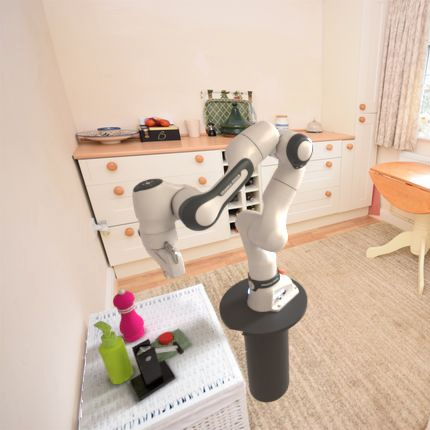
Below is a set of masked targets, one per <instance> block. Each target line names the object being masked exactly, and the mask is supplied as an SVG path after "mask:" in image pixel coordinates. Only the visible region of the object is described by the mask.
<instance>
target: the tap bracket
mask: <svg viewBox="0 0 430 430" xmlns="http://www.w3.org/2000/svg"><path fill="white" fill-rule="evenodd" d="M151 343H152V342H151V340H150V338H147V339H145V340H143V341H141V342H140V343H137V344H135V345H134V346H132V347H131V349H132V354H133V355H134V359H135V362H136V365H137V368H138V371H139V374H138V375H136V376H135V377H133V378H130V379H129V384H130V385H131V388H132V389H133V392H134V393H135V395H136V397H137V399H138V401H139V402H142V401H143V400H144V399H146V398H148V397H149V396H151V395H152V394H154V393H156V392H158V390H160V389H161V388H163V387H165V386H166V385H168V384H169V383H171V382H173V381H174V380H176V375H175V373H174V372H173V370H172V369H171V368H170V366H169V364H168V363H167V361H166V360H163V361H162V362H160V363H159V361H158V358H157V354H156V351H155V348H154V347H151ZM145 346H150V347H151V348H150V349H148V350H147V351H145V352H143V353H141V354H139V355H137V353H138V350H139V348H140V347H145Z"/></svg>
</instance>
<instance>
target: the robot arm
mask: <svg viewBox="0 0 430 430" xmlns="http://www.w3.org/2000/svg"><path fill="white" fill-rule="evenodd" d="M313 153H314V144H313V141H312V139H311V138H310V137H308V136H307V135H305V134H304V133H300V132H297V131H294V130H291V129H284V128H278V127H275V125H274V124H272V123H271V122H269V121H268V120H260V121H257V122H256V123H253V124H252V125H249V126H248V127H246V128H245V129H243V130H242V131H241V132H240V133H238V134H237V135H236V136H235V137H233V138H232V139H231V140H230V141H229V143H227V145H226V147H225V149H224V158H225V161H226V164H227V166H228V167H227V170H226V171H225V173H224V174H223V175H222V176H221V177H220V178H219V179H218V180H217V181H216V182H215V183H214V184H213V186H211V187H210V188H209V189H208V190H206V191H203V192H202V191H201V190H199V189H197V188H195V187H194V186H192V185H189V184H177V183H172V182H169V181H166V180H163V179H162V178H149V179H146V180H143V181H141V182H138V183H137V184H136V185H135V186H134V187H133V189H132V192H131V193H132V197H131V198H132V205H133V210H134V214H135V215H134V216H135V218H136V219H137V221H138V225H139V226H138V229H137V234H138V236H139V237H140V240H141V242H142V243H141V244H142V246H143V248H145V251H146V253H147V254H148V255H149V256H150V257H151V259H153V261H155V262H156V263H157V264H158V266H159V267H160V269H161V271H162V274H163V276H164V277H165V278H166V279H167V280H171V279H172V280H176V279H179V278H181V277H183V276H185V275H186V267H185V262H184V259H183V256H182V254H181V252H180V250H179V249H177V247H175V246H174V245H175V244H176V243H177V242H178V238H179V237H178V232H177V226H176V222H177V221H180V222H181V223H182V224H183V225H184V226H185V227H186V228H187V229H189V230H191V231H194V232H203V231H207V230H208V229H210V228H212V227H213V226H214V225H215V224H216V223H217V222H218V220H219V219H220V217H221V215H222V213H223V211H224V209H225V208H226V207H227V206H228V205H229V203H230V202H231V201H232V200H233V199H234V198H235V196H237V195H238V193H239V192H240V191H241V190H242V189H243V188H244V186H245V185H246V184H247V183H248V182H249V181H250V179H251V178H252V176H253V174H254V172H255V169H256V168H258V166H259V165H260V164H261V163H262V162H263V161H264V160H266V158H267V157H272V158H274V159H276V160H278V163H277V167H276V169H275V170H274V172H273V174H272V176H271V177H270V180H269V181H268V183H267V185H266V186H265V189H264V191H263V193H262V195H261V200H262V204H263V207H262V212H259V211H257V210H252V209H243V210H242V211H240V212H239V213H238V214H237V215H236V216H235V217H236V218H235V219H234V226H235V228H236V230H237V232H238V234H239V235H240V239H241V242H242V246H243V248H244V251H245V254H246V258H247V267H248V269H247V270H248V273H247V278H248V283H249V290H248V294H249V296H248V300H247V304H248V306H249V307H250V308H251V309H252V310H254V311H258V312H267V311H273V312H278V311H280V310H281V309H282V308H283V307H284V306H285V305H286V304H287V303H288V302H289V301H291V300H292V299H293V298H294V297H295V296H296V295H297V294H298V293H299V291H298V288H297V287H296V286H295V285H294V284H293V283H292V281H291V279H292V278H291V277H289V276H287V275H286V271H285V270H284V269H282V268H279V267H278V266H277V253H279V252H280V251H282V250H283V249H284V248H285V247H286V245H287V243H288V240H289V234H288V231H287V217H288V216H287V215H288V213H289V209H290V207H291V205H292V203H293V200H294V199H295V196H296V195H297V192H298V191H299V189H300V186H301V184H302V182H303V179H304V176H305V173H306V165H308V162H309V161H310V160H311V158H312V156H313ZM290 278H291V279H290Z"/></svg>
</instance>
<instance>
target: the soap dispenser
mask: <svg viewBox="0 0 430 430" xmlns="http://www.w3.org/2000/svg"><path fill="white" fill-rule="evenodd" d="M93 327H94V328H96V329H99V330H100V331H101V332H102V335H101V336H100V341H101V344H100V345H99V346H98V352H99V354H100V356H101V360H102V362H103V365H104V368H105V370H106V373H107V375H108V378H109V381H110V383H111V384H113V385H121V384H124V383H126V382H127V381H129V380H131V379H132V376H133V374H134V368H133V364H132V362H131V359H130V355H129V352H128V349H127V347H126V344H125V340H124V337H121V336H117V335H116V332H115V331H113V330H112V329H113V327H112V326H111V325H110V324H108V323H107V322H105V321H102V320H99V321H98V322H96V323H94V324H93Z"/></svg>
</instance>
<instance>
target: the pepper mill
mask: <svg viewBox="0 0 430 430" xmlns="http://www.w3.org/2000/svg"><path fill="white" fill-rule="evenodd" d="M112 304H113V306H114V307H115V308H116V310H117V313H118V314H119V315H120V322H119V325H118V326H119V327H118V328H119V332H120V334H122V336H123V340H124V342H127V343H134V342H136V341H138V340H140V339H141V338H143V336H144V335H145V334H146V329H145V327H144V326H145V321H144V319H143V317H142V316H141V315H139V314H138V313H137V311H136V309H135V308H136V304H135V295H134V293H132V292H131V291H128V290H125V289H122V288H120V289H119V290H118V291H117V293H116V294H115V295H114V297H113V299H112Z"/></svg>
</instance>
